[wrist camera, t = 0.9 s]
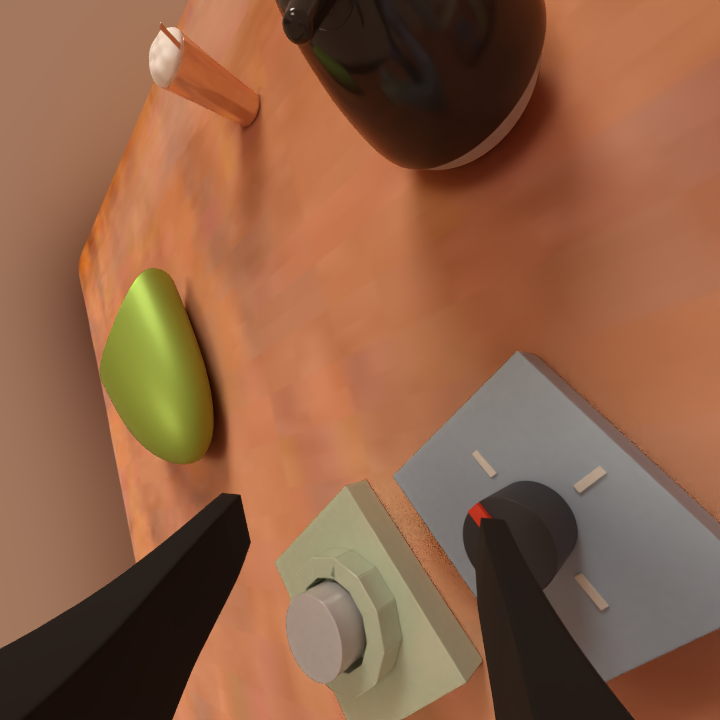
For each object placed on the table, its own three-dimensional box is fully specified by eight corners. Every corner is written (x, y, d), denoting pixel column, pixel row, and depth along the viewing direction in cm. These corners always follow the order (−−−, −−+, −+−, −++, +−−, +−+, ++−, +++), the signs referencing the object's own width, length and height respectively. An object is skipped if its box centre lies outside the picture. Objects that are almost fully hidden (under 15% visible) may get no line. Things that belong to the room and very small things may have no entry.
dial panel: (768, 567, 15) (784, 601, 13) (567, 670, 19) (550, 711, 17) (535, 353, 21) (515, 349, 19) (418, 468, 25) (390, 476, 23)
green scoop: (64, 340, 43) (122, 502, 35) (124, 256, 40) (203, 414, 32) (134, 350, 50) (196, 488, 42) (190, 280, 46) (269, 415, 38)
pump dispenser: (401, 216, 27) (183, 86, 15) (402, 69, 28) (191, -164, 16) (567, 165, 21) (409, -128, 9) (563, -25, 21) (409, -538, 9)
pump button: (379, 644, 22) (355, 664, 21) (335, 676, 24) (310, 697, 23) (337, 566, 24) (313, 579, 23) (300, 601, 26) (275, 615, 25)
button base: (483, 660, 22) (450, 705, 19) (379, 722, 26) (338, 766, 23) (366, 479, 28) (326, 490, 25) (295, 553, 32) (254, 571, 29)
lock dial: (598, 536, 16) (578, 569, 13) (533, 579, 18) (503, 617, 15) (532, 464, 18) (503, 479, 15) (478, 509, 20) (442, 531, 17)
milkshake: (266, 124, 37) (157, 56, 30) (234, 138, 41) (128, 81, 33) (272, 75, 37) (163, -6, 29) (239, 93, 41) (133, 25, 33)
